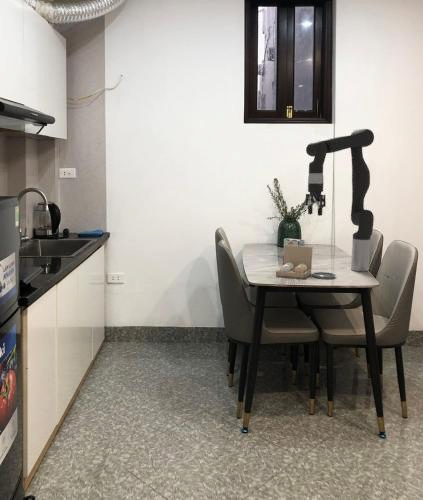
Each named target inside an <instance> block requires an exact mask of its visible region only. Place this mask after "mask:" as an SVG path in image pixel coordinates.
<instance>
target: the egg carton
mask: <svg viewBox="0 0 423 500" xmlns="http://www.w3.org/2000/svg"><path fill="white" fill-rule="evenodd" d="M283 246H284V265H285V264H286V263H288V262H290V263H292V264H293V265H294V269H295V267H297V266H298V265H299V264H305V265H306V266H307V271H304V273H295V272H294V269H293V270H292V269H291V271H290V272H284V271H281V267H280V268H279V269H277V270H276V271H275V276H276V277H283V278H291V279H302V280H304V279H306V278H308V277H309V276H311V275H312V267H313V266H312V265H313V261H312V260H313V247H312V246H305V245H304V246H290V245H284V244H283Z"/></svg>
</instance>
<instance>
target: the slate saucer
mask: <svg viewBox="0 0 423 500" xmlns="http://www.w3.org/2000/svg"><path fill="white" fill-rule="evenodd" d="M311 275H312V277H313V278H316V279H321V280H332V279H335V278H336V274H335V273H333V272H326V271H320V272H319V271H316V272H313V273H311Z"/></svg>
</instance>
